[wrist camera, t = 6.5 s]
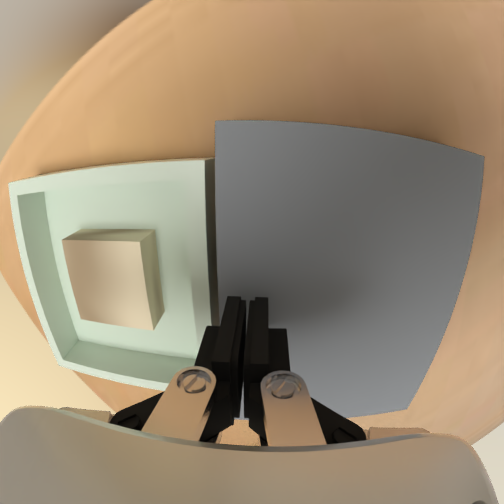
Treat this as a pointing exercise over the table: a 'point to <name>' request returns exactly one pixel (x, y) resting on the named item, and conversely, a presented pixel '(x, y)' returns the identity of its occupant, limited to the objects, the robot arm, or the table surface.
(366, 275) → the plate
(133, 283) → the block
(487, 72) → the table surface
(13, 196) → the box
